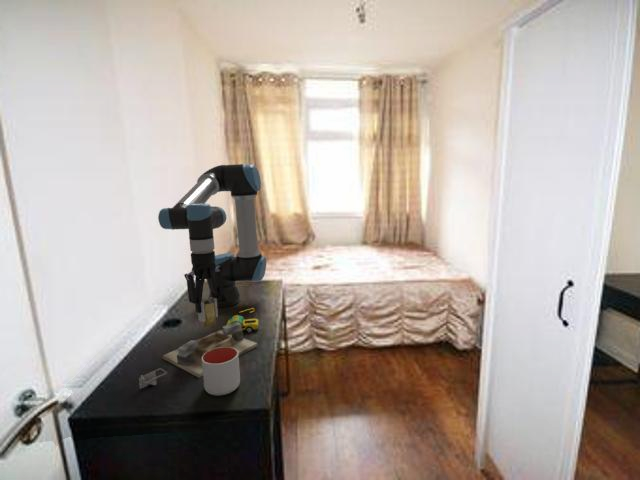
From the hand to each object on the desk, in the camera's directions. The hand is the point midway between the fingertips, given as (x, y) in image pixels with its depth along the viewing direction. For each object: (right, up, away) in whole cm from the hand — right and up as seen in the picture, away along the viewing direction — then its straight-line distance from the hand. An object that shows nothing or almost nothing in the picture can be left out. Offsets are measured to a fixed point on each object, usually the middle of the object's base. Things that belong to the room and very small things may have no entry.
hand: (208, 318), depth 121 cm
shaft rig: (0, -12, +2) cm, 12 cm away
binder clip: (-11, -17, -17) cm, 26 cm away
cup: (+10, -16, -18) cm, 26 cm away
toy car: (+8, -9, +20) cm, 23 cm away
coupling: (0, -2, 0) cm, 2 cm away
